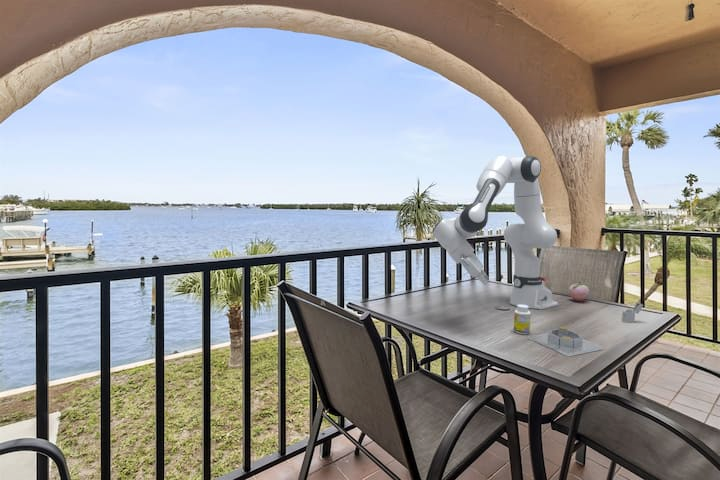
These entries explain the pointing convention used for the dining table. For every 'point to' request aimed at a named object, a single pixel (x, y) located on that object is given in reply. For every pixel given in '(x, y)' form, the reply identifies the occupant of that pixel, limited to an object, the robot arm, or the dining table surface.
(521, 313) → the supplement bottle
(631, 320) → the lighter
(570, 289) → the decorative fruit
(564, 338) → the socket
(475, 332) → the dining table surface
